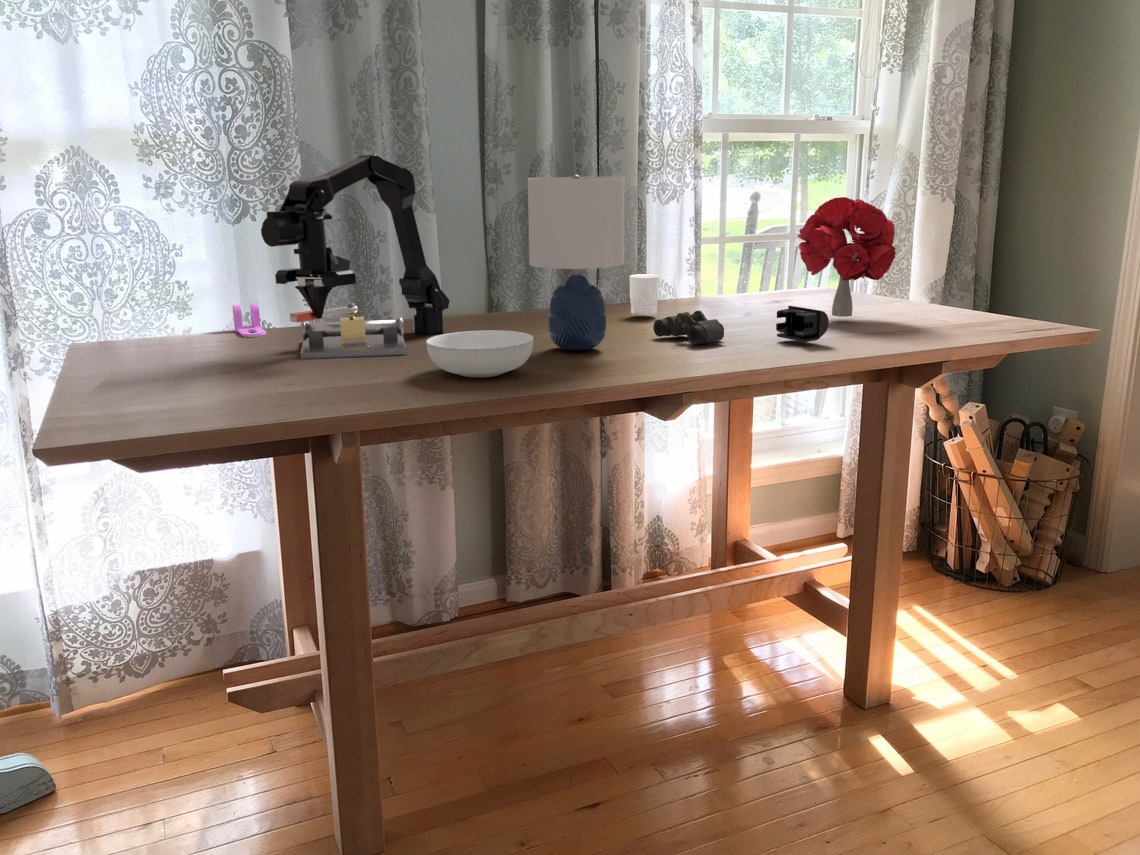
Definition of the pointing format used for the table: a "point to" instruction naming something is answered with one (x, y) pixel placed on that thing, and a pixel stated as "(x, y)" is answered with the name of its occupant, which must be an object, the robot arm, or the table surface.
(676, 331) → the binoculars
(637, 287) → the white cup
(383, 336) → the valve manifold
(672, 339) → the table surface
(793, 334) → the end cap
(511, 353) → the serving bowl
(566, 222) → the lamp
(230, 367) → the table surface
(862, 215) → the bouquet
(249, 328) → the bracket
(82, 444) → the table surface
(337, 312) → the lever
